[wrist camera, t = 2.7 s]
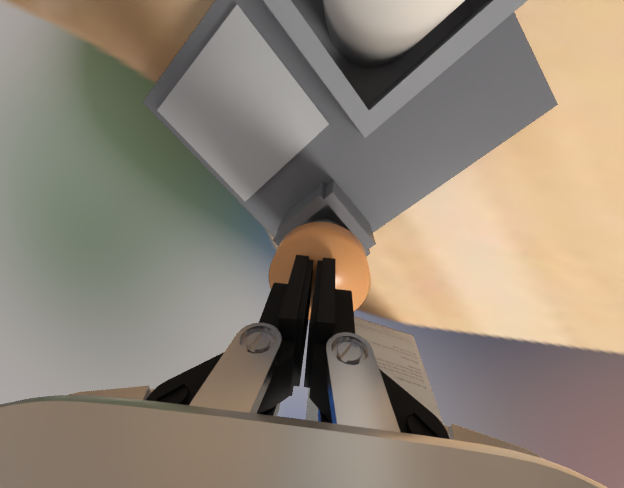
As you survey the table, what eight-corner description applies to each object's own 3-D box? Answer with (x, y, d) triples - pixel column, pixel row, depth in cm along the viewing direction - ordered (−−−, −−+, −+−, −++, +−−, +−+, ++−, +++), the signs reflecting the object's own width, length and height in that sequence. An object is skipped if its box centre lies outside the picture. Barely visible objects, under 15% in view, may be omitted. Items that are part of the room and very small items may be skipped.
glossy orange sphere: (329, 185, 14) (325, 214, 10) (377, 244, 16) (391, 289, 12) (271, 233, 16) (248, 274, 12) (319, 283, 17) (313, 335, 13)
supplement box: (308, 363, 26) (285, 555, 15) (337, 307, 23) (335, 498, 12) (379, 386, 27) (409, 589, 15) (417, 335, 23) (489, 543, 12)
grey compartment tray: (385, -203, 11) (416, -413, 7) (538, 105, 15) (621, 102, 11) (157, 103, 17) (93, 99, 13) (312, 265, 21) (305, 305, 17)
